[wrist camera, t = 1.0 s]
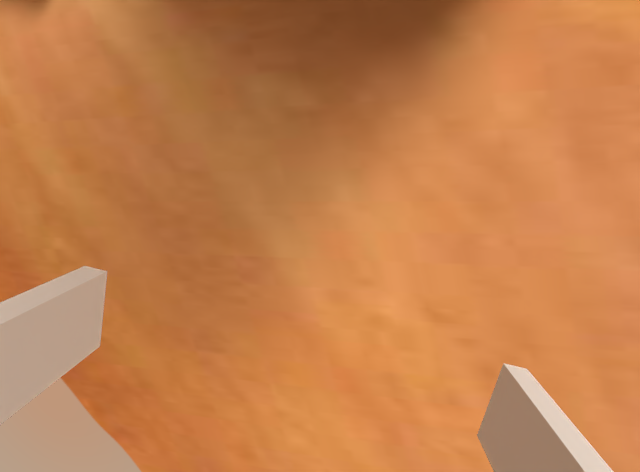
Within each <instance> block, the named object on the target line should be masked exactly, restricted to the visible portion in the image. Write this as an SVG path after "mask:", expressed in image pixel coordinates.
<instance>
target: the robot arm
mask: <svg viewBox="0 0 640 472" xmlns="http://www.w3.org/2000/svg"><path fill="white" fill-rule="evenodd" d="M106 281H107V271H105V270H100V269H96V268H92V267H88V266H83V267H81V268H79V269H76V270H74V271H72V272H69V273H67V274H65V275H62V276H60V277H58V278H56V279H53V280H51V281H49V282H46V283H44V284H42V285H39V286H37V287H35V288H33V289H30V290H28V291H26V292H23V293H21V294H19V295H16V296H14V297H12V298H10V299H7V300H5V301H3V302H0V425H1V424H2V423H4V422H5V421H6V420H7V419H9V418H10V417H11V416H12V415H14V414H15V413H16V412H17V411H19V410H20V409H21V408H22V407H24V406H25V405H26V404H27V403H29V402H30V401H31V400H33V399H34V398H35V397H36V396H38V395H39V394H40V393H41V392H43V391H44V390H45V389H47V388H48V387H49V386H50V385H52V384H53V383H54V382H55V381H57V380H58V379H59V378H61V377H62V376H63V375H64V374H66V373H67V372H68V371H69V370H71V369H72V368H73V367H74V366H76V365H77V364H78V363H80V362H81V361H82V360H83V359H85V358H86V357H87V356H88V355H90V354H91V353H92V352H93V351H95V350H96V349H97V348H99V347H100V342H101V332H102V321H103V311H104V301H105V291H106ZM477 436H478V438H479V440H480V443H481V445H482V447H483V449H484V451H485V453H486V455H487V458H488V460H489V462H490V464H491V466H492V468H493V470H494V472H613V471H612V469H611V468H610V467H609V466H608V465H607V463H606V462H605V461H604V460H603V459H602V458H601V456H600V455H599V454H598V453H597V452H596V450H595V449H594V448H593V447H592V446H591V444H590V443H589V442H588V441H587V440H586V438H585V437H584V436H583V435H582V434H581V433H580V431H579V430H578V429H577V428H576V427H575V425H574V424H573V423H572V422H571V421H570V419H569V418H568V417H567V416H566V415H565V413H564V412H563V411H562V410H561V409H560V408H559V406H558V405H557V404H556V403H555V402H554V400H553V399H552V398H551V397H550V396H549V394H548V393H547V392H546V391H545V390H544V389H543V387H542V386H541V385H540V384H539V383H538V381H537V380H536V379H535V378H534V377H533V375H532V374H531V373H530V372H529V371H528V369H525V368H521V367H517V366H513V365H508V364H504V363H503V366H502V369H501V371H500V374H499V377H498V380H497V382H496V385H495V388H494V391H493V393H492V396H491V399H490V402H489V404H488V407H487V410H486V412H485V415H484V418H483V421H482V423H481V426H480V429H479V432H478V434H477Z"/></svg>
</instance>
